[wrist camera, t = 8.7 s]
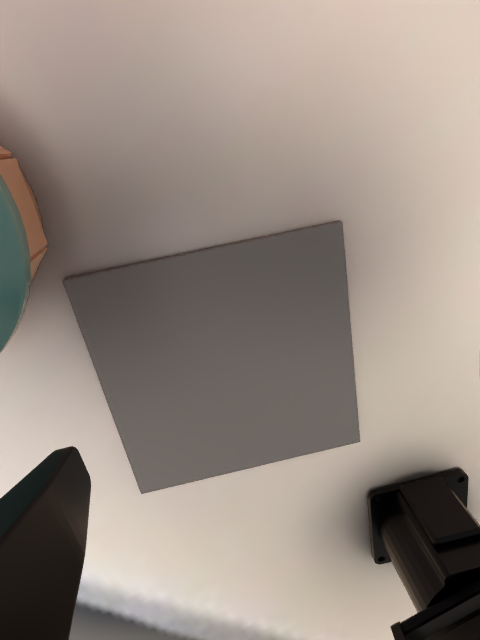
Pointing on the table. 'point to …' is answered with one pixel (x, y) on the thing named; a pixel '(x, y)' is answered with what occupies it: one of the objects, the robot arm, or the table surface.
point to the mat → (224, 354)
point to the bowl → (24, 207)
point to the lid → (12, 266)
